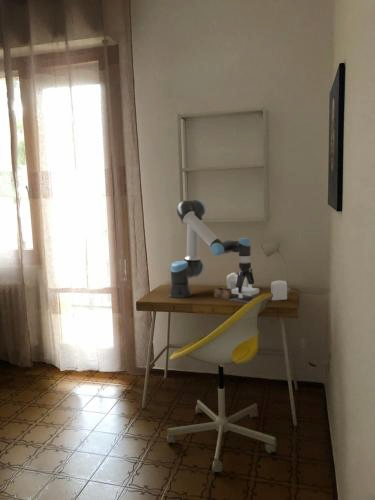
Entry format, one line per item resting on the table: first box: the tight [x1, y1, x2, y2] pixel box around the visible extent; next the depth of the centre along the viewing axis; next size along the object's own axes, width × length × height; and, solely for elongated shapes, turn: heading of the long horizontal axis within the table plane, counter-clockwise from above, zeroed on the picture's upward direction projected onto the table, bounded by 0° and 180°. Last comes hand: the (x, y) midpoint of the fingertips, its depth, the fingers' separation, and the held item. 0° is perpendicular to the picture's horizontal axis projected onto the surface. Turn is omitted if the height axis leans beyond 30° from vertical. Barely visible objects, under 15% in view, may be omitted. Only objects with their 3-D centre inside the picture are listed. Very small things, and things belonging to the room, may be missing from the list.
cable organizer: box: [225, 272, 248, 289], centre depth 293 cm, size 15×11×12 cm
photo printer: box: [270, 279, 288, 301], centre depth 261 cm, size 10×4×12 cm, turn 96°
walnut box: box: [213, 286, 237, 300], centre depth 275 cm, size 12×8×5 cm, turn 51°
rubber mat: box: [228, 295, 256, 304], centre depth 265 cm, size 16×14×1 cm
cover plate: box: [232, 286, 260, 297], centre depth 264 cm, size 14×11×2 cm
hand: (245, 295), depth 265 cm, fingers closed on cover plate, 11 cm apart
